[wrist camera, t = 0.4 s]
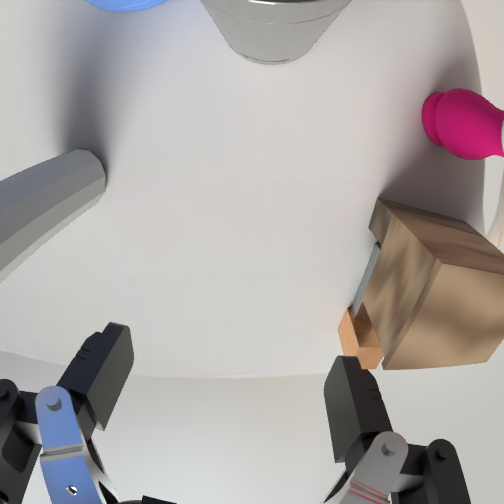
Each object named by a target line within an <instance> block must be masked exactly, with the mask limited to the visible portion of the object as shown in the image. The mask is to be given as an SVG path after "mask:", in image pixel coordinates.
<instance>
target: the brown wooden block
mask: <svg viewBox="0 0 504 504" xmlns="http://www.w3.org/2000/svg"><path fill="white" fill-rule="evenodd" d="M369 229H370V230H371V232H372V233H373V234H374V236H375V237H376V238H377V240H378V241H379V243H380V244H381V245H382V248H381V251H380V253H379V256H378V259H377V262H376V264H375V267H374V270H373V272H372V275H371V277H370V280H369V282H368V285H367V287H366V290H365V292H364V295H363V297H362V300H363V303H364V305H365V308H366V310H367V313H368V315H369V318H370V320H371V323H372V325H373V328H374V331H375V333H376V336H377V339H378V341H379V344H380V347H381V349H382V352H383V355H384V360H383V361H382V366H383V369H384V370H401V369H422V368H436V367H449V366H459V365H468V364H476V363H483V362H487V361H488V359H489V358H490V357H491V355H492V354H493V353H494V351H495V350H496V349H497V347H498V346H499V344H500V343H501V341H502V340H503V339H504V254H503V253H502V252H501V251H500V250H498V249H497V248H496V247H495V246H494V245H493V244H492V243H490V242H489V241H488V240H487V239H486V238H485V237H483V236H482V235H481V234H480V233H479V232H477V231H476V230H475V229H474V228H472V227H471V226H470V225H469V224H467V223H466V222H463V221H460V220H457V219H453V218H450V217H446V216H443V215H439V214H436V213H432V212H429V211H425V210H421V209H418V208H414V207H410V206H406V205H402V204H398V203H394V202H390V201H386V200H382V199H377V200H376V204H375V208H374V211H373V214H372V218H371V221H370V224H369Z"/></svg>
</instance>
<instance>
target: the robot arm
mask: <svg viewBox="0 0 504 504" xmlns="http://www.w3.org/2000/svg"><path fill="white" fill-rule="evenodd" d="M200 1H201V2H202V4H203V5H204V7H205V8H206V10H207V11H208V13H209V14H210V16H211V17H212V19H213V21H214V22H215V24H216V25H217V27H218V28H219V30H220V32H221V33H222V35H223V36H224V38H225V39H226V41H227V42H228V44H229V46H230V47H231V48H232V49H233V50H234V51H235V52H236V53H238V54H239V55H241V56H242V57H244V58H246V59H248V60H251V61H253V62H257V63H261V64H272V65H275V64H283V63H287V62H290V61H294V60H296V59H298V58H299V57H301V56H303V55H304V54H305V53H306V52H308V51H309V50H310V49H311V47H312V46H313V45H314V44H315V42H316V41H317V40H318V39H319V38H320V37H321V35H322V34H323V33H324V32H325V31H326V29H327V28H328V27H329V26H330V25H331V23H332V22H333V21H334V20H335V19H336V18H337V16H338V15H339V14H340V13H341V12H342V11H343V9H344V8H345V7H346V6H347V5H348V4H349V3H350V1H351V0H200ZM133 361H134V352H133V346H132V340H131V334H130V329H129V327H128V326H126V325H121V324H117V323H113V322H110V323H108V325H107V326H106V328H105V329H104V331H103V332H102V333H100V332H95V333H94V334H93V335H91V336H90V337H88V338H87V339H86V340H85V342H84V343H83V345H82V346H81V349H80V350H79V351H78V352H77V354H76V357H74V358H73V360H72V361H71V363H70V364H69V366H68V368H67V369H66V371H65V372H64V374H63V376H62V377H61V379H60V380H59V382H58V383H57V385H56V386H49V387H46V388H44V389H42V390H41V391H40V392H39V393H33V392H25V391H19V390H18V388H17V386H16V385H15V384H14V383H13V382H12V381H11V380H8V379H1V380H0V504H22V500H23V497H24V494H25V491H26V488H27V485H28V482H29V479H30V476H31V474H32V471H33V468H34V465H35V463H36V460H37V457H38V455H39V453H40V450H41V448H42V446H43V454H41V455H40V464H41V468H42V472H43V476H44V479H45V483H46V486H47V490H48V493H49V496H50V499H51V502H52V504H176V503H172V502H167V501H163V500H159V499H155V498H151V497H147V496H144V495H143V497H142V500H134V501H133V500H131V501H123V502H121V500H120V498H119V496H118V494H117V492H116V490H115V488H114V487H113V485H112V483H111V482H110V480H109V478H108V476H107V474H106V472H105V469H104V467H103V464H102V462H101V459H100V456H99V454H98V451H97V448H96V446H95V443H94V440H93V437H92V433H93V431H94V428H97V429H99V430H103V431H104V430H105V428H106V425H107V423H108V420H109V418H110V416H111V413H112V411H113V409H114V407H115V404H116V402H117V399H118V397H119V395H120V393H121V391H122V388H123V386H124V383H125V382H126V379H127V377H128V375H129V373H130V371H131V369H132V366H133ZM324 398H325V404H326V409H327V415H328V421H329V427H330V433H331V439H332V446H333V452H334V459H335V463H340V462H345V465H346V469H345V470H344V471H343V472H342V474H341V475H340V477H339V478H338V480H337V481H336V483H335V484H334V486H333V487H332V488H331V490H330V491H329V492H328V494H327V495H326V497H325V498H324V499H323V501H322V502H321V503H320V504H390V501H388V496H389V494H390V492H391V499H392V504H471V502H470V498H469V494H468V490H467V486H466V482H465V479H464V475H463V472H462V468H461V465H460V462H459V459H458V456H457V453H456V450H455V448H454V446H453V445H452V444H451V443H450V442H449V441H447V440H444V439H437V440H434V441H433V442H431V443H430V444H429V445H428V446H420V445H413V444H408V443H407V442H406V440H405V439H404V438H403V437H402V436H401V435H400V434H398V433H395V432H393V430H392V427H391V423H390V420H389V417H388V414H387V411H386V408H385V405H384V402H383V400H382V397H381V393H380V391H379V388H378V385H377V382H376V379H375V378H374V376H373V375H372V374H371V373H370V372H369V371H368V369H362V368H361V365H360V362H359V359H358V357H357V356H337V357H336V359H335V361H334V364H333V366H332V368H331V370H330V372H329V375H328V377H327V379H326V381H325V386H324Z"/></svg>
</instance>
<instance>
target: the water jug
mask: <svg viewBox="0 0 504 504" xmlns="http://www.w3.org/2000/svg"><path fill="white" fill-rule="evenodd" d="M86 1H88V2H89V3H91V4H92V5H94V6H96V7H99V8H102V9H104V10H108V11H112V12H133V11H139V10H143V9H147V8H151V7H154V6H156V5H159V4H162V3H164V2H166V1H168V0H86Z"/></svg>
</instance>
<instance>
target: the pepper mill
mask: <svg viewBox="0 0 504 504" xmlns="http://www.w3.org/2000/svg"><path fill="white" fill-rule="evenodd" d="M422 123H423V127H424V130H425V132H426V134H427V135H428V137H429V138H430V139H431V140H432V141H433V142H434V143H435V144H437V145H439V146H442V147H445V148H446V149H447V150H448V151H449V152H450V153H452V154H453V155H455V156H457V157H459V158H463V159H467V160H479V159H483V158H486V157H489V156H491V155H499V156H502V157H504V111H503V110H500V109H498V108H496V107H495V106H494V105H493V104H491V103H490V102H489V101H488V100H486V99H485V98H484V97H482V96H481V95H479V94H477V93H475V92H473V91H470V90H466V89H460V88H458V89H453V90H450V91H448V92H447V93H444V92H438V93H435V94H432V95H431V96H429V97H428V98H427V100H426V101H425V103H424V105H423V108H422Z"/></svg>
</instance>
